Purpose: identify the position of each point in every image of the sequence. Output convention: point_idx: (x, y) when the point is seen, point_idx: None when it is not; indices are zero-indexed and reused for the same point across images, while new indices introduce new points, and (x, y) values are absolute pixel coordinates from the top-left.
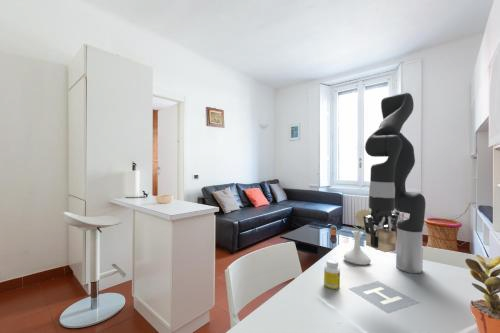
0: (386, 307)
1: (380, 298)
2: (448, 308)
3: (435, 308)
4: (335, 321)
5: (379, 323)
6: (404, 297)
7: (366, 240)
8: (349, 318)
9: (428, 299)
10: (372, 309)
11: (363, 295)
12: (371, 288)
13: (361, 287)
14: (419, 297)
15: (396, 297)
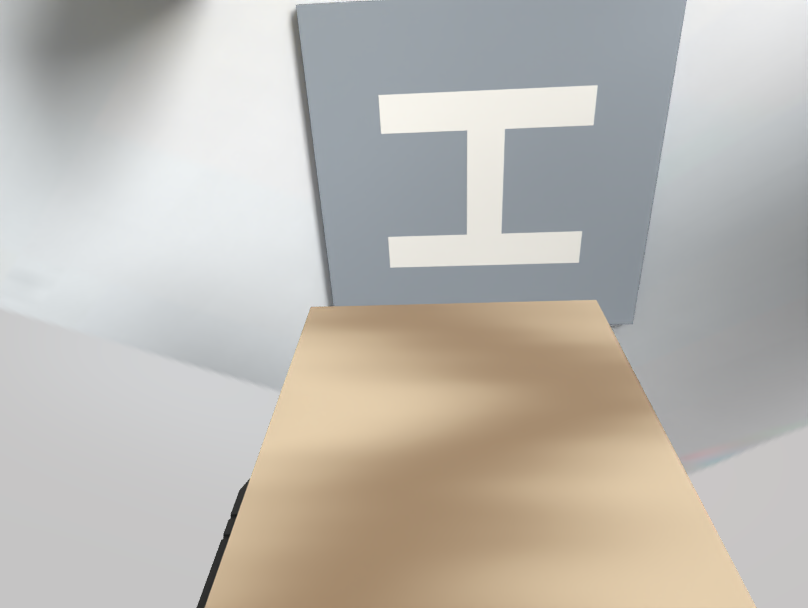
0: (378, 291)
1: (431, 210)
2: (734, 392)
3: (665, 369)
4: (10, 265)
5: (240, 349)
6: (605, 257)
7: (294, 364)
8: (103, 272)
9: (750, 304)
10: (296, 257)
11: (343, 137)
12: (495, 77)
13: (425, 30)
14: (725, 270)
15: (552, 239)
